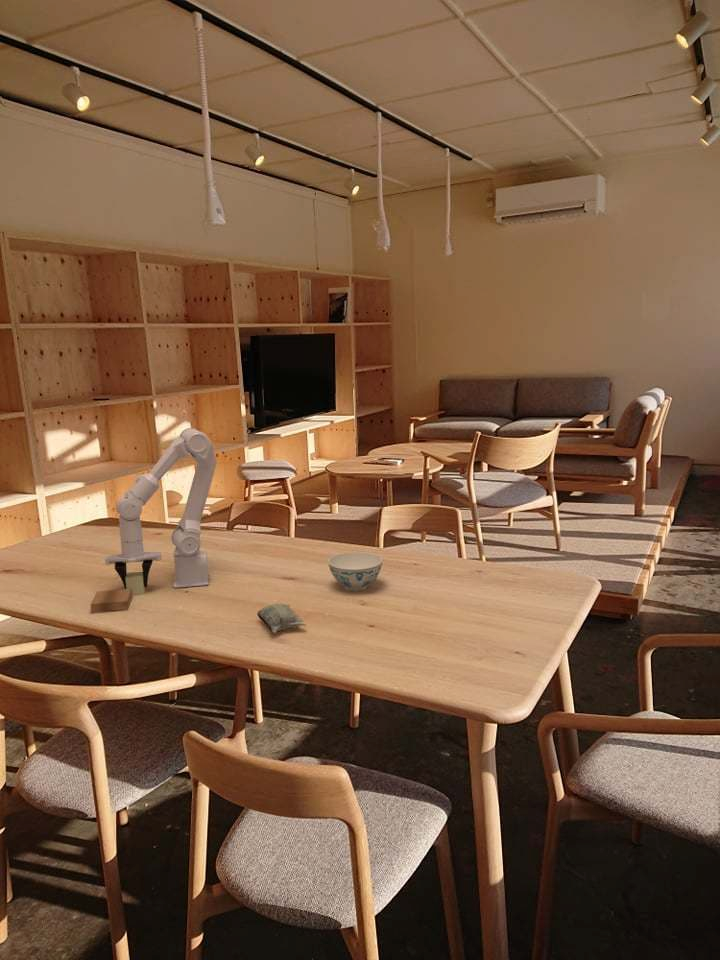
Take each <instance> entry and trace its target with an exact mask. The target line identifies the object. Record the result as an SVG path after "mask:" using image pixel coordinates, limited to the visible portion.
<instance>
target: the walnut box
mask: <svg viewBox="0 0 720 960" xmlns="http://www.w3.org/2000/svg"><path fill="white" fill-rule="evenodd" d="M133 596H134V595H132V589H125V588H124V589H115V590H113V589H112V590H104V591H103V590H102V591H101V590H100V591H96V593H95V595H94V596H93V599H92V601H91V602H90V612H91V615H92V614H102V613H103V614H105V613H115V612H125V611H126V612H127V611H129V610H130V606H131V603H132V600H133Z"/></svg>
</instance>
